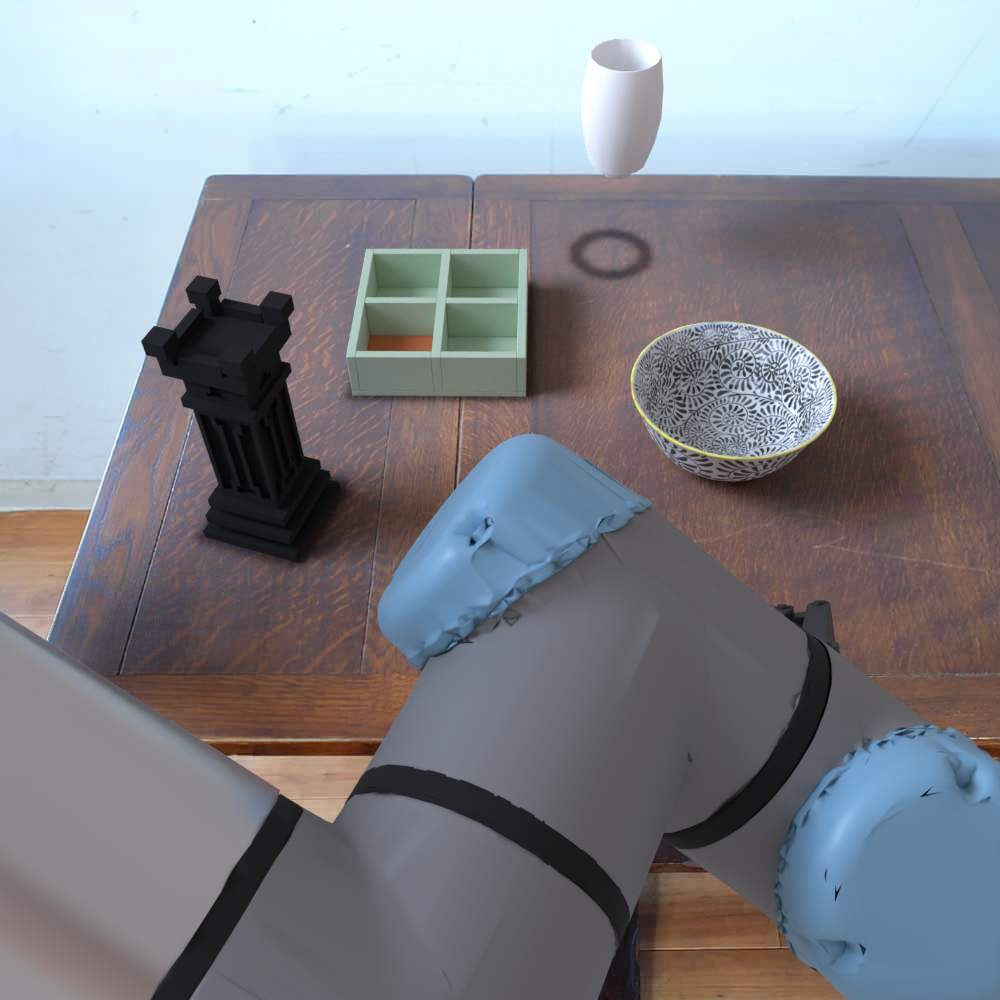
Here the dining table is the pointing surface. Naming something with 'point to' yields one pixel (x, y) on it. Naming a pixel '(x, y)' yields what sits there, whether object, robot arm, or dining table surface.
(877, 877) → the robot arm
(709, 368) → the bowl
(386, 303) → the grid
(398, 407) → the dining table surface
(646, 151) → the cup
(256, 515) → the chess piece
